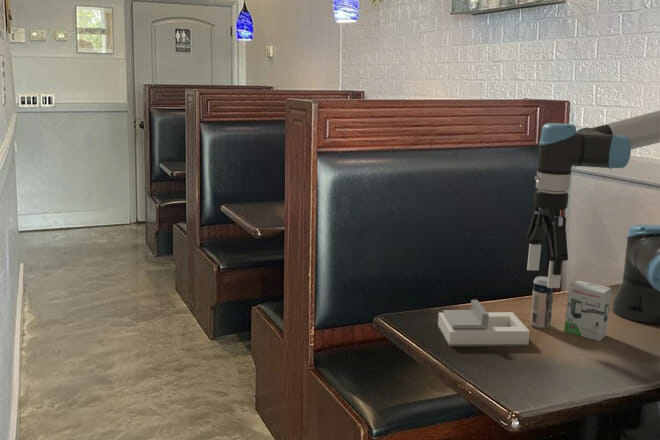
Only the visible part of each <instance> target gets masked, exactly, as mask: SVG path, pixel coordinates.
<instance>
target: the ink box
mask: <svg viewBox="0 0 660 440" xmlns="http://www.w3.org/2000/svg"><path fill="white" fill-rule="evenodd" d="M568 287H569V288H568V295H567V296H568V297H567V305H566V313H565V319H564V320H565V322H564V330H563V331H564V332H565V333H568V334H572V335H577V336H579V337H583V338H587V339H591V340H595V341H598V342H599V341H602V339H603V338H604V337H606V336H607V329H608V321H609V314H610V306H611V297H612V288H611V287H609V286H604V285H601V284H600V285H599V284H597V283H596V284H595V283H592V282H587V281H583V280H576V281H574V282H572V283H571V284H569V286H568Z"/></svg>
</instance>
